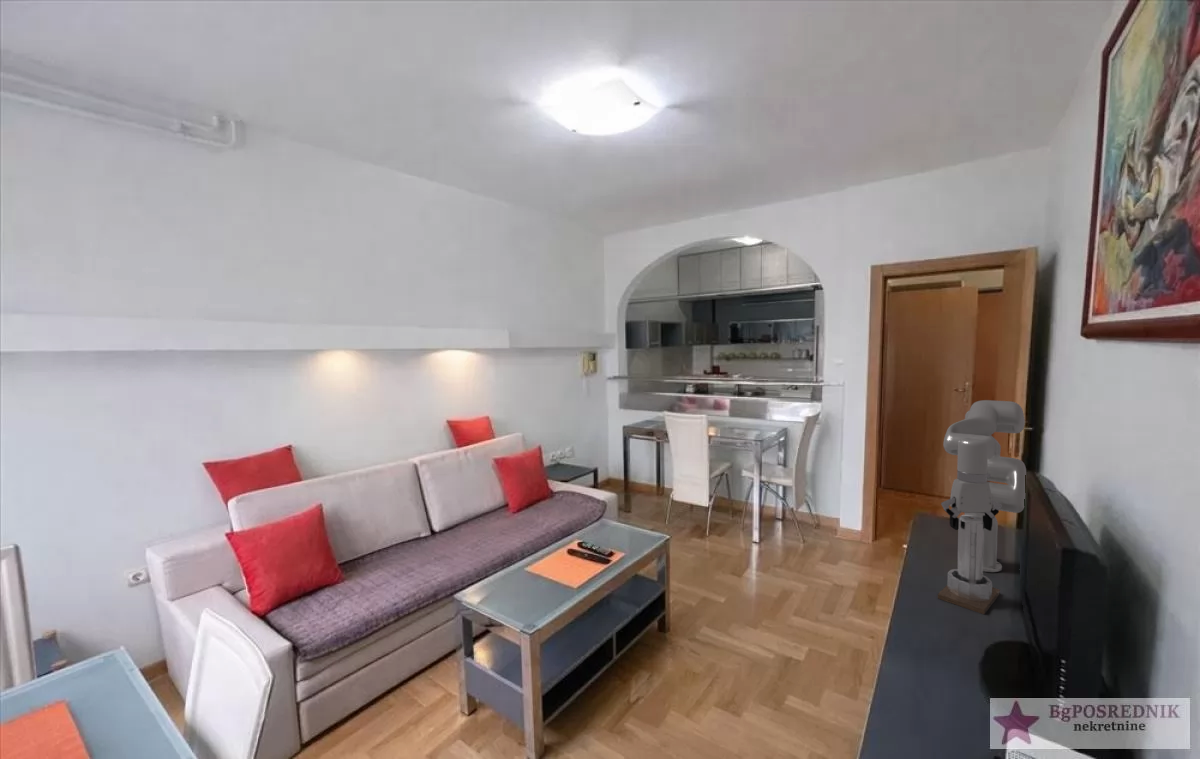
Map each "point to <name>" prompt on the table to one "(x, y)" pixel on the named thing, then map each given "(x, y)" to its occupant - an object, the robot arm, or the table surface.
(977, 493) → the robot arm
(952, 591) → the duct collar
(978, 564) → the silver long cylinder
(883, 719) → the table surface
